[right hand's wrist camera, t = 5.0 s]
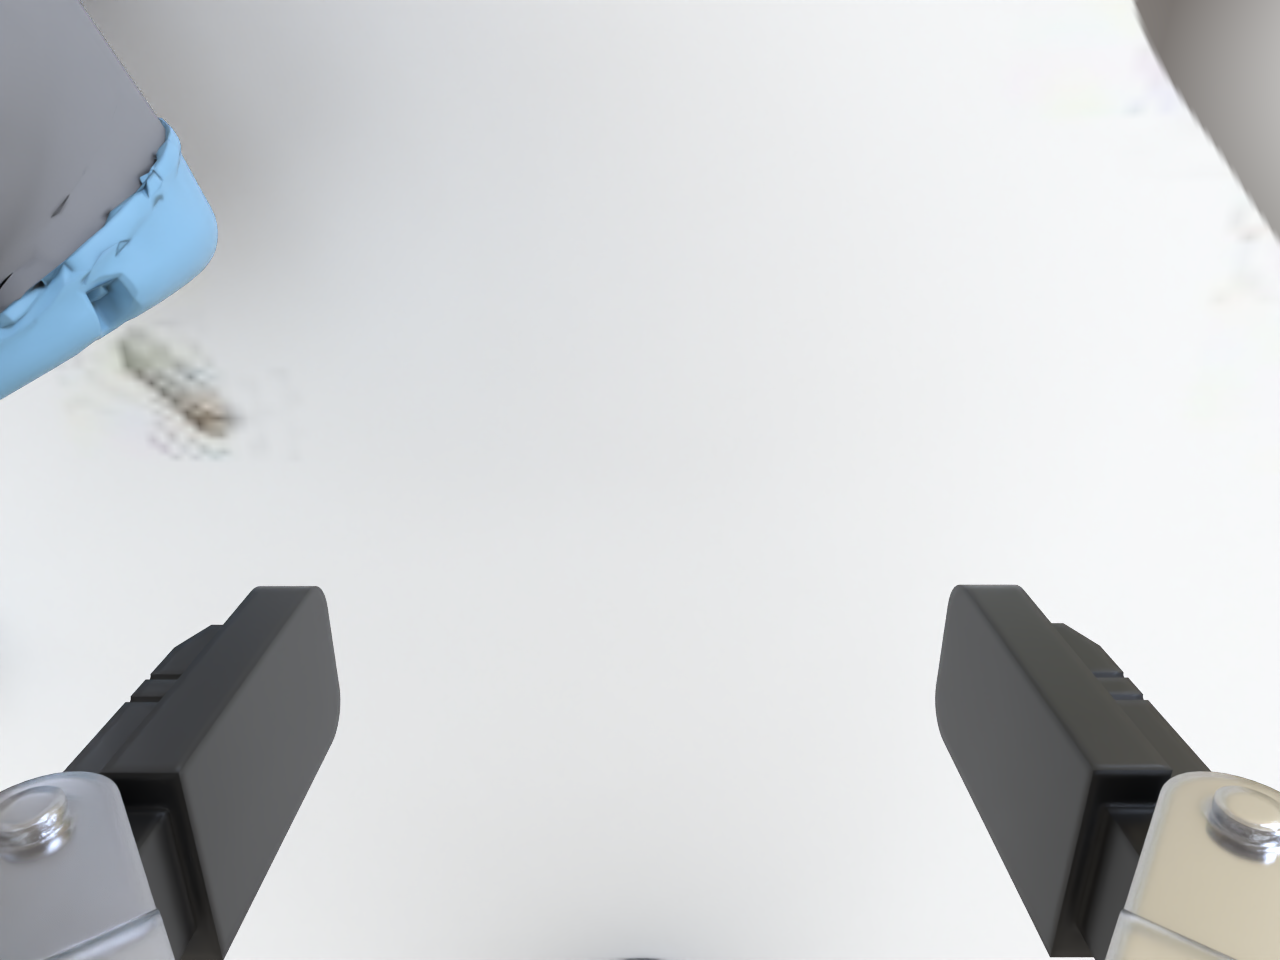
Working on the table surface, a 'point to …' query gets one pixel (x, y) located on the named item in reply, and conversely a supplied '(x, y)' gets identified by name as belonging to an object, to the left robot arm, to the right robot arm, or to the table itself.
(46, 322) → the left robot arm
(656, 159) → the table surface
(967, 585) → the right robot arm
